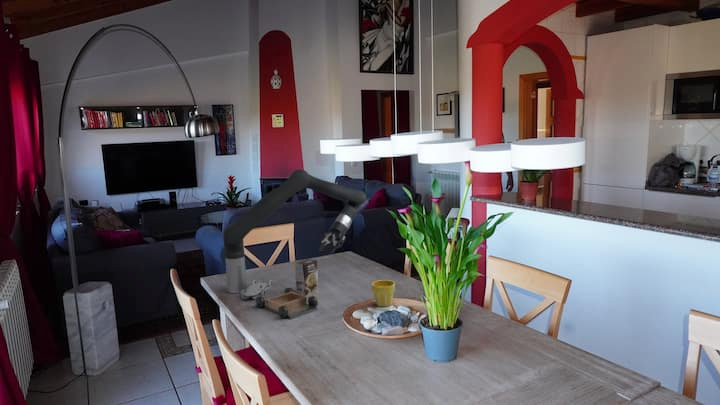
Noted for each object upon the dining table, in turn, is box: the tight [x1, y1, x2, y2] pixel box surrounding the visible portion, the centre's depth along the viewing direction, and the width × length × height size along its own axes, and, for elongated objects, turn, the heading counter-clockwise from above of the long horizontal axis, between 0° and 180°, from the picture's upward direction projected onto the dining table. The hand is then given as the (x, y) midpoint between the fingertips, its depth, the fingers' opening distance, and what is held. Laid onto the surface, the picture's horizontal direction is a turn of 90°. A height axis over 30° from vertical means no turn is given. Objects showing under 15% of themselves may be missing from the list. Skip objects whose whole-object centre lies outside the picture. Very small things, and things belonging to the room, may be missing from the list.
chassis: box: [255, 286, 319, 320], centre depth 223 cm, size 26×17×5 cm, turn 43°
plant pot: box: [371, 279, 396, 308], centre depth 222 cm, size 10×10×10 cm
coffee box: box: [294, 258, 319, 299], centre depth 239 cm, size 9×6×16 cm
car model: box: [240, 279, 274, 301], centre depth 244 cm, size 11×24×5 cm, turn 175°
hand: (324, 251), depth 245 cm, fingers open, 8 cm apart
